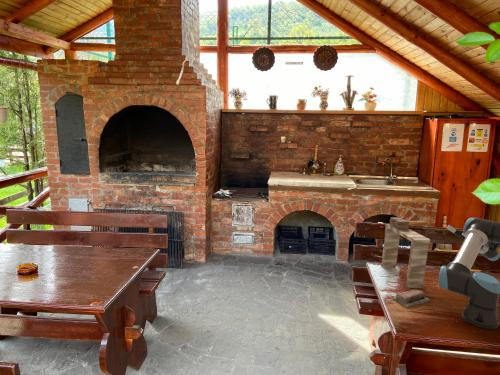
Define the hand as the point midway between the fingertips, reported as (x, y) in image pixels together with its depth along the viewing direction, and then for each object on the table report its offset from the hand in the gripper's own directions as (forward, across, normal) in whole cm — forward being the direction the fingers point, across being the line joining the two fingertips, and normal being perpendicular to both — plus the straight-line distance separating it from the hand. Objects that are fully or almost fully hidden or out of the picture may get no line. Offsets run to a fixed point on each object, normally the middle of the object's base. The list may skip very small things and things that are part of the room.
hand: (455, 229), depth 219 cm
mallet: (+21, +10, -14) cm, 27 cm away
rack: (+12, +2, -44) cm, 45 cm away
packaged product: (+22, -28, -50) cm, 61 cm away
